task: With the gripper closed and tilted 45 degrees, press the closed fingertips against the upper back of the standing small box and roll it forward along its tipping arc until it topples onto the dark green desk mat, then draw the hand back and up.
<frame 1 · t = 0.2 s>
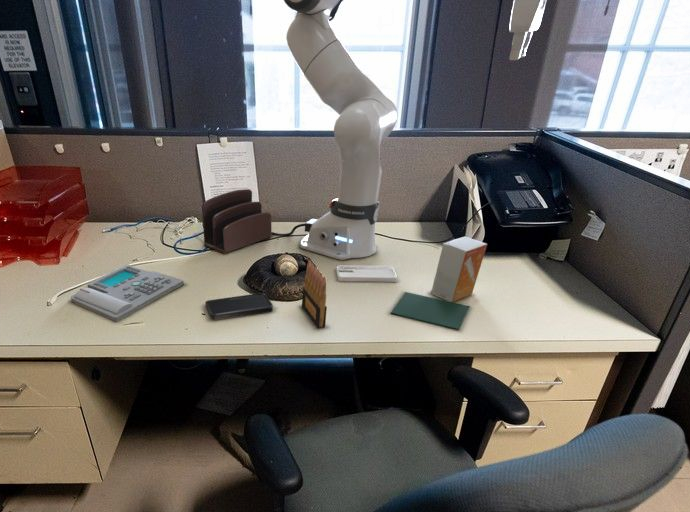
hand: (516, 58, 99), 48 cm above the table, tool pointing down, fingers open, 8 cm apart
mat: (430, 310, 110), on the table
phone case: (365, 276, 126), on the table
letter holder: (238, 242, 147), on the table
phone: (238, 308, 112), on the table
ammunition clip: (312, 317, 108), on the table
small box: (451, 295, 116), on the table
office telephone: (124, 292, 120), on the table
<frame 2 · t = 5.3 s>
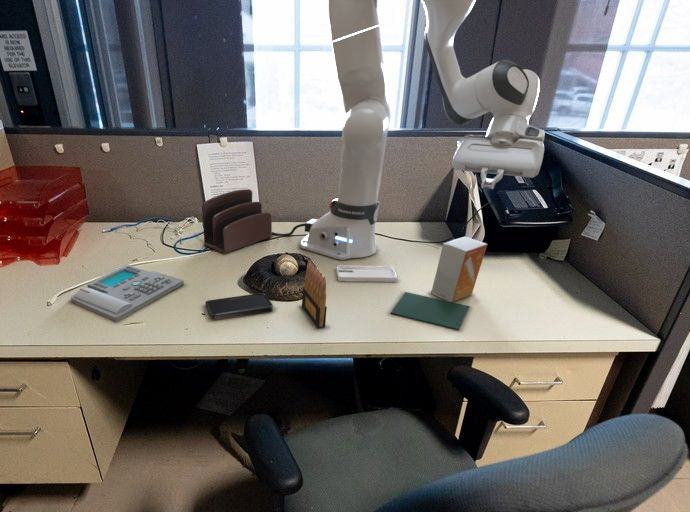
hand: (487, 187, 118), 21 cm above the table, tool tilted 45°, fingers closed
nothing on the table moved.
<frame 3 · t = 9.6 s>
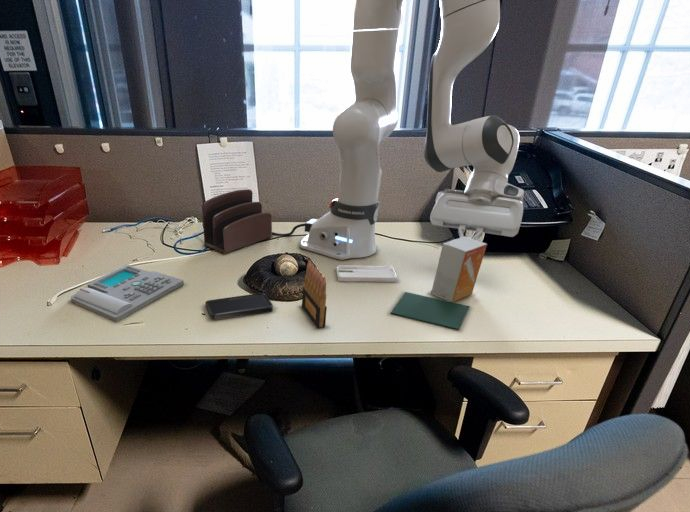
hand: (465, 245, 114), 11 cm above the table, tool tilted 45°, fingers closed
small box: (451, 295, 116), on the table, touching gripper
everything else where it was.
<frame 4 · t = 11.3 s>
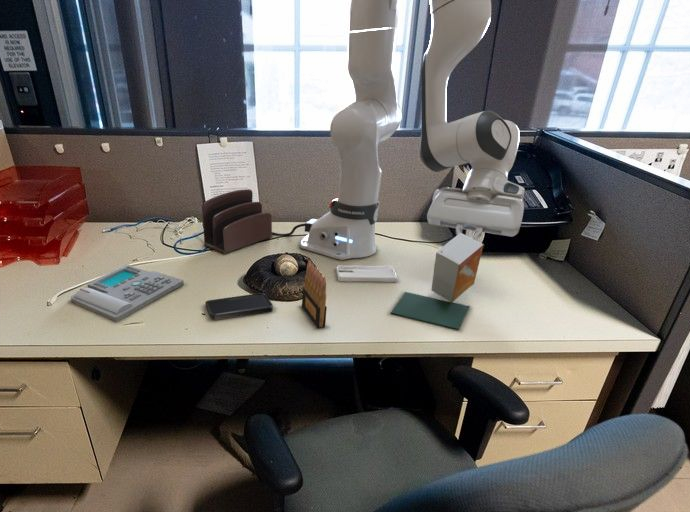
hand: (463, 245, 109), 12 cm above the table, tool tilted 45°, fingers closed
small box: (452, 288, 115), point 2 cm above the table, touching gripper, mat
everything else where it was.
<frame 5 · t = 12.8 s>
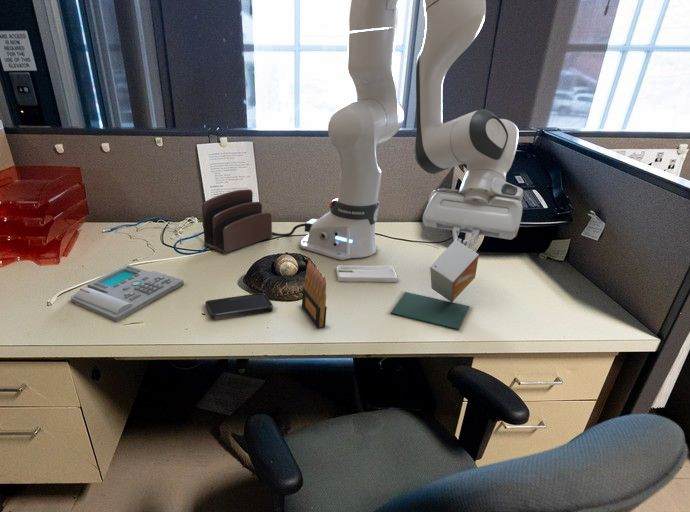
hand: (460, 248, 106), 13 cm above the table, tool tilted 45°, fingers closed
small box: (453, 283, 114), point 3 cm above the table, touching gripper, mat
everything else where it was.
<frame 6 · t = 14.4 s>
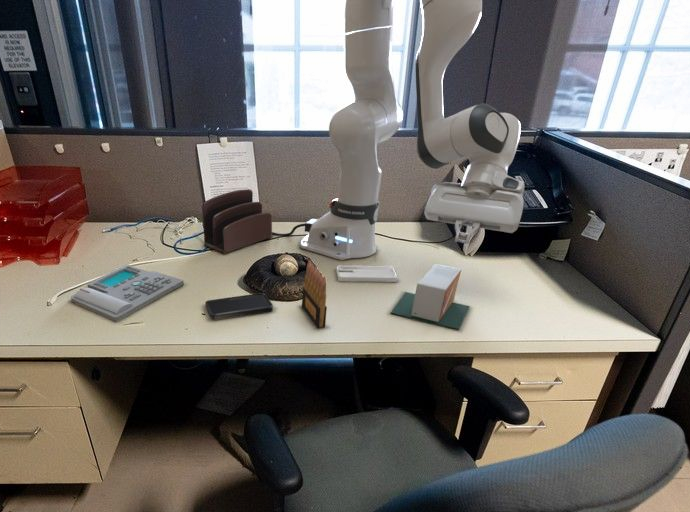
hand: (461, 241, 107), 14 cm above the table, tool tilted 45°, fingers closed
small box: (445, 281, 112), point 4 cm above the table, touching mat
everything else where it was.
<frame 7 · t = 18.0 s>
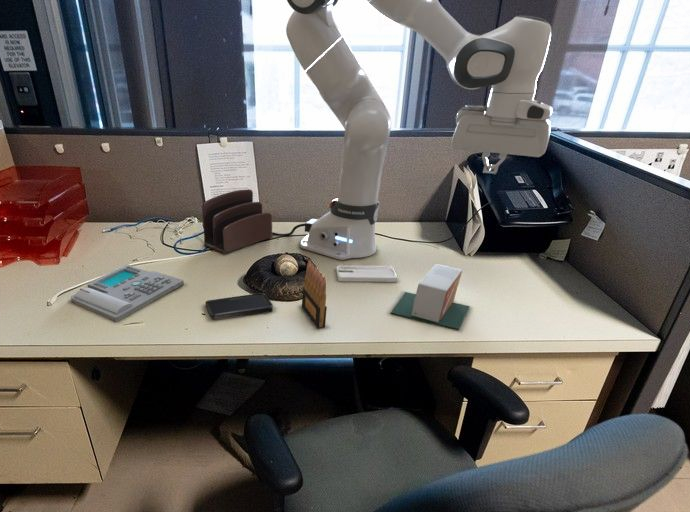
hand: (489, 173, 113), 25 cm above the table, tool pointing down, fingers closed
nothing on the table moved.
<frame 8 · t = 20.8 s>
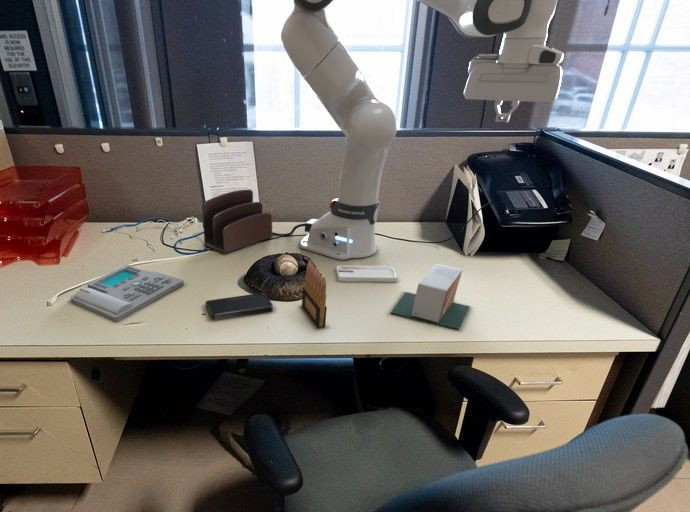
hand: (501, 121, 116), 34 cm above the table, tool pointing down, fingers closed
nothing on the table moved.
at the end: small box tilted 90°; small box touching mat; small box inside the target area (3.1 cm from its centre), point 4.5 cm above the table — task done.
